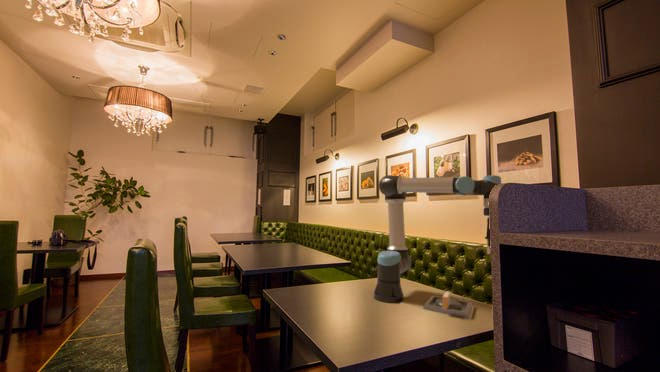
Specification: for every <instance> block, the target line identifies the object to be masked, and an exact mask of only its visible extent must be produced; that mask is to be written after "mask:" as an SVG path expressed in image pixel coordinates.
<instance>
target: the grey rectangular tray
mask: <svg viewBox="0 0 660 372" xmlns="http://www.w3.org/2000/svg"><path fill="white" fill-rule="evenodd" d="M442 297H443V296H437V295H431V296H430V297H429V298H428V300H427V301H426V302H425V303H424V304H423V307H421V309H422V310H426V311H430V312H435V313H440V314H445V315H449V316H450V315H452V316H455V317H460V318H465V319H470V320H471V319H472V317H473V313H474V309H475V306H473V302H472V301H467V300H461V299H455V298H450V300H454V301H457V302H460V303H461V304H462V311H460V310H455V309H449V308H448V309H447V310H445V309H442V307H439V306H436V300H437V299H442Z"/></svg>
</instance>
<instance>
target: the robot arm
mask: <svg viewBox="0 0 660 372" xmlns="http://www.w3.org/2000/svg"><path fill="white" fill-rule="evenodd" d="M498 184H501V185H502V178H501V176H499V175H493V174H492V175H490V174H489V175H484V176H483V179H480V180H479V179H478V180H477V179H475V180H474V179H473V178H471V177H470V176H465V175H464V176H460V177H459V176H458V177H454V176H453V177H452V176H451V177H449V176H448V177H445V176H444V177H403V176H401V175H392V174H388V175H385V176H383V177H381V179H379V182H378V189H379V191H380V193H381V194H382V195H383V196H384V201H385V202H386V203H387V208H388V209H387V210H388V240H389V241H388V242H389V246H387V248H386V250H383V251H380V252H379V253H378V254H377V281H376V285H375V288H374V291H373V298H374V299H375V300H377V301H379V302H383V303H394V304H395V303H397V304H398V303H401V302H402V303H403V301H404V297H405V296H404V292H403V289H402V285H401V275H402V274H403V273H405V272H407V271H408V270H409V268H411V265H412V258H411V256H410V253H409V248H408V247H407V246H406V236H405V234H406V233H405V214H404V213H405V211H404V203H405V201H406V200H407V199H406V197H407V196H406V195H407V193H419V194H420V193H421V194H422V193H424V194H427V193H432V194H439V193H440V194H457V195H458V196H483V199H482V200H483V207H484V208H483V216H486V217H487V218H486V219H487V220H486V221H487V222H486V223H487V225H486V236H484V240H486V254H488V255H491V254H490V229H489V205H488V202H489V195H490V192H491V190H492V188H493V187H494V186H495V185H498Z"/></svg>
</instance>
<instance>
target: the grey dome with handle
mask: <svg viewBox="0 0 660 372" xmlns="http://www.w3.org/2000/svg"><path fill="white" fill-rule="evenodd" d="M441 297H442V299H437V300H436V306H439V307H442V309H445V310H447V309H448V308H449V309H455V310H460V311H462V304H461V303H460V302H457V301H454V300H450V299H451V293H450V292H448V291H445V293H444V294H443V296H441Z"/></svg>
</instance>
